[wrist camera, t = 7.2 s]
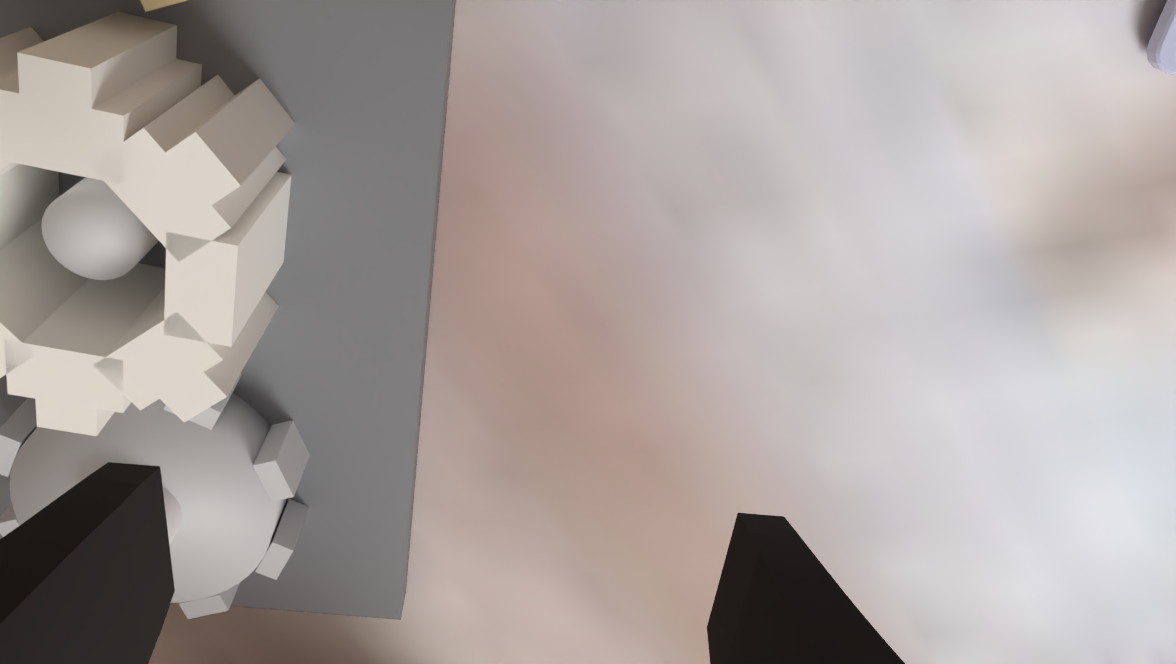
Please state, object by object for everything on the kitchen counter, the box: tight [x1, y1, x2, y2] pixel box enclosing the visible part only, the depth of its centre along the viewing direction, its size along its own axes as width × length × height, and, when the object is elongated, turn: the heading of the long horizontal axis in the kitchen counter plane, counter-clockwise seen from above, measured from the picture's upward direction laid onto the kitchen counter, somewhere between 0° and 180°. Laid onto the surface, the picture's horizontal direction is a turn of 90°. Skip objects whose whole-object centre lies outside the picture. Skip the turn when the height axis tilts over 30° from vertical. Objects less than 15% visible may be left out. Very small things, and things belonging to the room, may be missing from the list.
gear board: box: [0, 0, 456, 620], centre depth 17 cm, size 11×22×4 cm, turn 171°
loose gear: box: [0, 12, 295, 436], centre depth 16 cm, size 5×7×4 cm
